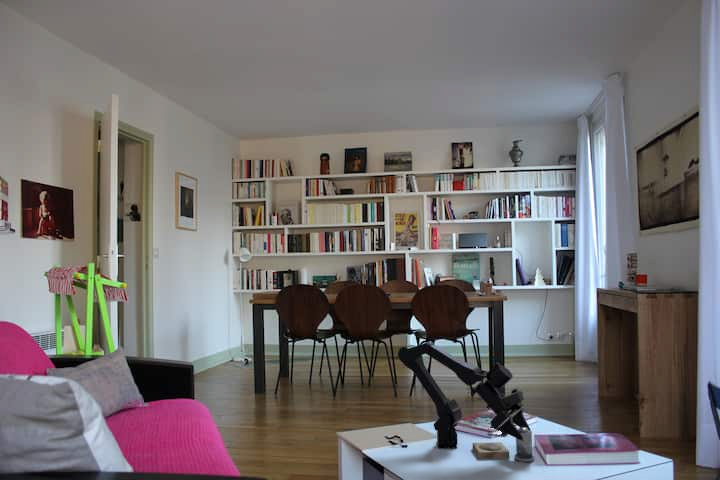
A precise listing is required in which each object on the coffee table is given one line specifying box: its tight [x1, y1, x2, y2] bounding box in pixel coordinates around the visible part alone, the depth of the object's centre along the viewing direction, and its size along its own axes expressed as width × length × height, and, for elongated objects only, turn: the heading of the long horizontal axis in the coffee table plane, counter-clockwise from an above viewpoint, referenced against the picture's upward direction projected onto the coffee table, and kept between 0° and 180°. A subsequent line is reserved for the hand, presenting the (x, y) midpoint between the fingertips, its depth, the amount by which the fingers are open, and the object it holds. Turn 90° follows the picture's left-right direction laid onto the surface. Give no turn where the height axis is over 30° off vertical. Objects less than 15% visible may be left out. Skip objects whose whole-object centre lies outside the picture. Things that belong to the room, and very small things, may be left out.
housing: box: [514, 427, 535, 464], centre depth 180 cm, size 6×6×10 cm
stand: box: [472, 441, 510, 460], centre depth 186 cm, size 10×10×2 cm
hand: (526, 435), depth 180 cm, fingers open, 9 cm apart
